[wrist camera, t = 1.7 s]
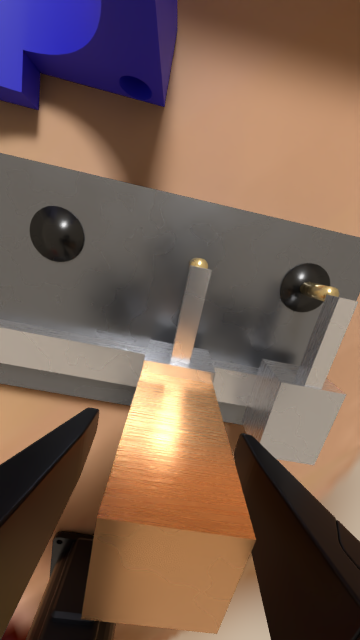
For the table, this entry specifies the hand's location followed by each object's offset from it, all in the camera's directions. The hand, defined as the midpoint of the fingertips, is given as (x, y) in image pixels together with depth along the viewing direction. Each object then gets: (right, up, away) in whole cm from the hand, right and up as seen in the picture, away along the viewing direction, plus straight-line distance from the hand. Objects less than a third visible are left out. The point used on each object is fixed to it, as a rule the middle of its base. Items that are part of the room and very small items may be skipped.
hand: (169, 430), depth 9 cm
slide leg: (0, +3, +4) cm, 5 cm away
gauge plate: (-1, +5, +5) cm, 7 cm away
